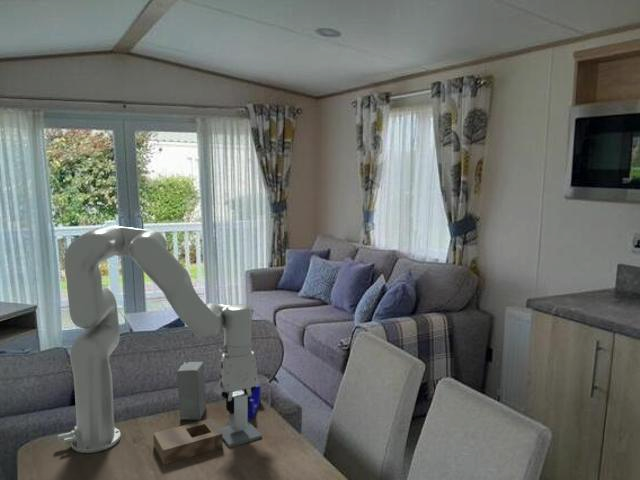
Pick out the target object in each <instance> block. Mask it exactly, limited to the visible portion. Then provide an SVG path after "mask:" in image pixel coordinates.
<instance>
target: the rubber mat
mask: <svg viewBox="0 0 640 480" xmlns="http://www.w3.org/2000/svg"><path fill="white" fill-rule="evenodd" d="M217 428H218V427H217ZM218 429H219V430H220V432H221V433H222V442H224V443H225V444H226V446H227V447H228V448H232V447H236V446H239V445H243V444H247V443H248V442H249V443H250V442H253V441H256V440H259V439H262V438H263V435H262V434H261V433H260V431H259V430H257V428H256V427H255V426H254V425H253V424H252V423H251V422H250V421H249V420H248V428H247V429H243V430H240V431H236V432H234V431H233V430H232V428H231V427H230V426H229V425H226V426H225V425H224V426H223V427H219V428H218Z"/></svg>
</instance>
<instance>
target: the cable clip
mask: <svg viewBox="0 0 640 480" xmlns="http://www.w3.org/2000/svg"><path fill="white" fill-rule="evenodd" d="M261 395H262V394H261V384H259V385H258V386H257V387H256V388H255V390H254V391H253V392H252V395H251V396H250V405H249V410H248V420H253V419H254V417H255V415H256V413H257V411H258V408H259V406H260V404H261ZM256 410H257V411H256ZM255 412H256V413H255Z"/></svg>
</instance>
